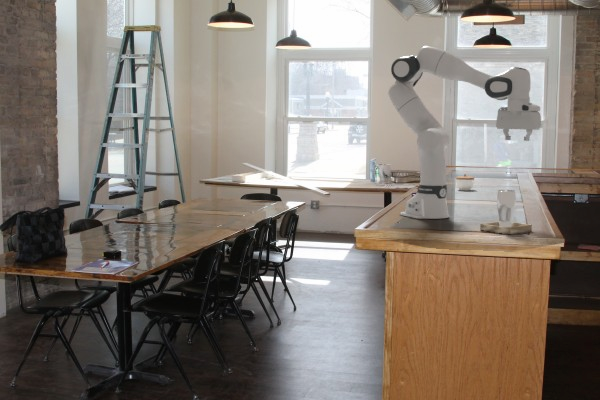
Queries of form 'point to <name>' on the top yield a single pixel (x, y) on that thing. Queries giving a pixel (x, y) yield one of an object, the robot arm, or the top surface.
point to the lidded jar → (464, 182)
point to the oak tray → (506, 228)
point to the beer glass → (506, 207)
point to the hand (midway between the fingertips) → (517, 140)
